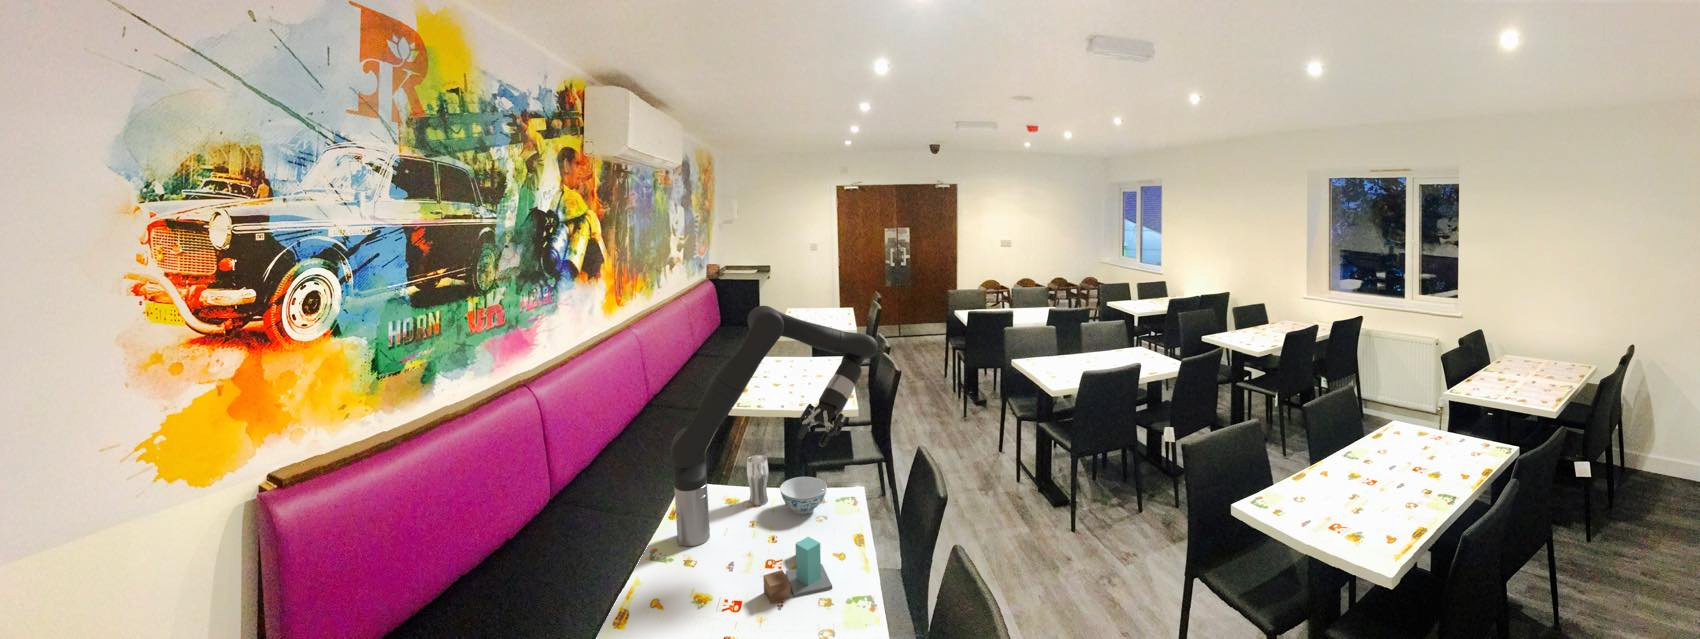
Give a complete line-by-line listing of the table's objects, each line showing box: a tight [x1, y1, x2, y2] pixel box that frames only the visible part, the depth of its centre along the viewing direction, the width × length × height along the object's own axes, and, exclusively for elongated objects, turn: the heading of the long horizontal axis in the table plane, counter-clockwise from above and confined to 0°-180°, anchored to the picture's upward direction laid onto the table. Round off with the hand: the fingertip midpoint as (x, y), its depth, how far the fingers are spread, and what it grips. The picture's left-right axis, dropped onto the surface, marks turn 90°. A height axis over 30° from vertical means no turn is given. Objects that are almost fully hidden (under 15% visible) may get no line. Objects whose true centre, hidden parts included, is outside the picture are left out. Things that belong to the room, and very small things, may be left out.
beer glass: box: [746, 454, 769, 507], centre depth 196 cm, size 7×7×15 cm
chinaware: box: [779, 476, 828, 515], centre depth 191 cm, size 15×15×8 cm
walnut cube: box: [762, 569, 791, 605], centre depth 149 cm, size 5×5×5 cm
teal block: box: [795, 536, 822, 586], centre depth 154 cm, size 4×4×10 cm
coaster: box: [785, 563, 833, 598], centre depth 155 cm, size 10×10×1 cm
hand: (810, 441), depth 168 cm, fingers open, 8 cm apart
